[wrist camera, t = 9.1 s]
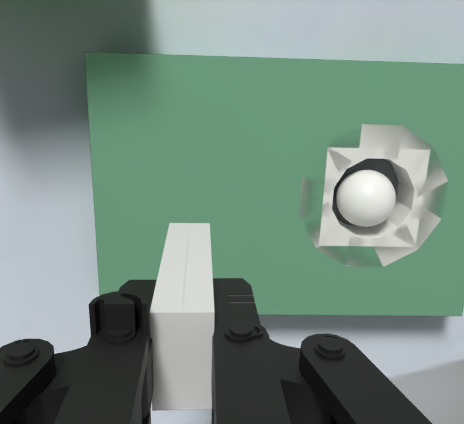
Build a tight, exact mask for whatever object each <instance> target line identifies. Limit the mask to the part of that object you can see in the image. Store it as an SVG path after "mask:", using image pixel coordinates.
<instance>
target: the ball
mask: <svg viewBox="0 0 464 424" xmlns="http://www.w3.org/2000/svg"><path fill="white" fill-rule="evenodd" d="M336 202H337V207H338V209H339V211H340V213H341V215H342V216H343V217H344V218H345V219H346V220H347V221H349V222H350V223H352V224H354V225H357V226H362V227H370V226H375V225H377V224H380V223H381V222H383V221H384V220H386V219H387V218H388V217H389V216H390V214H391V213H392V211H393V209H394V207H395V203H396V193H395V189H394V187H393V185H392V183H391V182H390V180H389V179H388V178H387V177H386V176H384V175H383V174H381V173H379V172H377V171H373V170H359V171H356V172H353V173H351V174H350V175H348V176H347V177H346V178H345V179H344V180H343V181H342V182H341V184H340V185H339V187H338V190H337V195H336Z"/></svg>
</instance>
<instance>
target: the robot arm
mask: <svg viewBox="0 0 464 424" xmlns="http://www.w3.org/2000/svg"><path fill="white" fill-rule="evenodd" d="M89 314H90V328H91V337H90V340H89V342H88V344H87V346H84V347H82V348H79V349H76V350H72V351H67V352H62V353H58V354H54V348H53V345H51V344H50V343H49V342H48V341H45V340H41V339H23V340H17V341H14V342H12V343H9V344H7V345H4V346H2V347H1V348H0V424H151V412H150V408H151V402H152V411H153V410H197V409H212V424H432V423H431V422H430V421H429V420H428V419H427V418H426V417H425V416H424V415H423V414H422V413H421V412H420V411H419V410H418V409H417V408H416V407H415V406H414V405H413V404H412V403H411V402H410V401H409V400H408V399H407V398H406V397H405V396H404V395H403V394H402V393H401V391H399V389H398V388H397V387H396V386H395V385H393V383H392V382H391V381H390V380H389V379H388V378H387V377H386V376H385V375H384V374H383V373H382V372H381V371H380V370H379V369H378V368H377V367H376V366H375V365H374V364H373V363H372V362H371V361H370V360H369V359H368V358H367V357H366V356H365V355H364V354H363V353H362V352H361V351H360V350H359V349H358V348H357V347H356V346H355V345H354V344H353V343H351V342H350V341H349V340H347V339H344V338H342V337H339V336H337V335H333V334H332V335H331V334H315V335H312V336H308V337H307V338H306V339H304V340H303V341H302V344H301V348H295V347H289V346H285V345H281V344H279V343H276V342H274V341H272V340H271V339H269V335H268V333H267V331H266V329H265V328H264V327H263V326H261V325H260V321H259V317H258V312H257V308H256V304H255V300H254V296H253V291H252V287H251V285H250V284H249V283H248V282H247V281H245V280H244V279H243V278H213V274H212V256H211V237H210V223H169V228H168V232H167V237H166V241H165V246H164V250H163V255H162V259H161V264H160V268H159V273H158V277H157V280H129V281H127V282H126V283H125V284H123V285H122V286H121V287H120V288H119V291H116V292H110V293H106V294H102V295H100V296H98V297H96V298H95V299H93V300H92V301H91V302H90V304H89Z"/></svg>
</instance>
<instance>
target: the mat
mask: <svg viewBox="0 0 464 424" xmlns="http://www.w3.org/2000/svg"><path fill="white" fill-rule="evenodd" d="M85 68H86V84H87V101H88V117H89V133H90V149H91V165H92V181H93V197H94V213H95V229H96V245H97V262H98V278H99V294H100V295H102V294H106V293H110V292H116V291H119V288H120V287H121V286H122V285H123V284H125V283H126V282H127V281H129V280H157V277H158V273H159V268H160V264H161V259H162V255H163V250H164V246H165V241H166V237H167V232H168V228H169V223H210V237H211V256H212V274H213V278H243V279H244V280H245V281H247V282H248V283H249V284H250V285H251V287H252V291H253V296H254V300H255V304H256V308H257V312H258V315H388V316H462V312H463V307H464V64H447V63H415V62H384V61H352V60H321V59H289V58H258V57H227V56H195V55H164V54H132V53H101V52H85ZM367 158H373V159H385V160H387V161H388V162H390V163H391V165H392V167H393V169H394V171H395V174H396V176H397V178H398V187H397V195H396V203H395V207H394V209H393V211H392V213H391V214H390V216H389V217H388V218H387V219H386V220H384V221H383V222H381V223H380V224H377V225H375V226H370V227H362V226H357V225H346V224H344V223H343V222H341V221H339V220H338V219H337V218H336V216H335V214H334V212H333V210H332V203H333V192H334V187H335V185H336V184H337V182H338V181H339V180H340V178H341V177H342V175H343V174H344V172H345V171H346V169H348V168H350V167H352V166H353V165H355V164H357V163H359V162H361V161H363V160H365V159H367Z"/></svg>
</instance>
